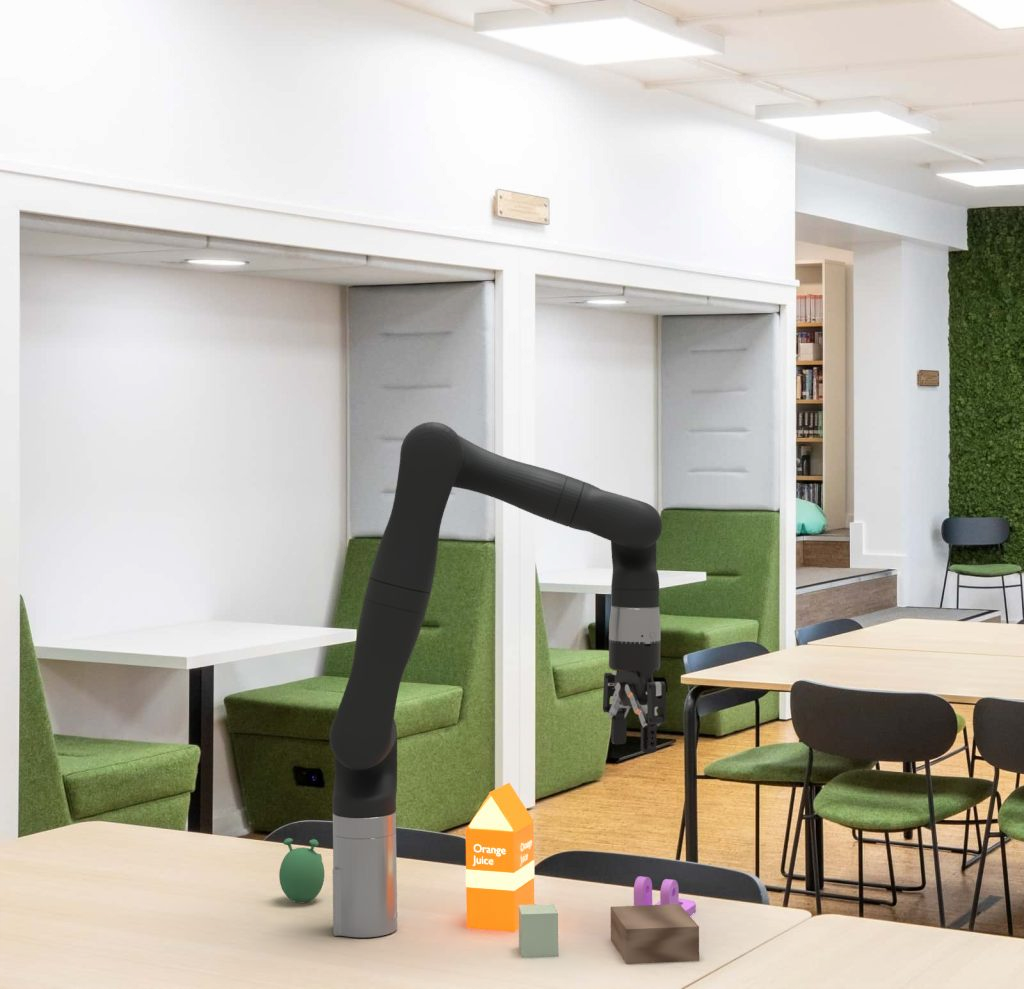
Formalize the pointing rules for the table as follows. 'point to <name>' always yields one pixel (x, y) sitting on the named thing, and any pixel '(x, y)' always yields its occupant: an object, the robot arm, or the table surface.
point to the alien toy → (301, 872)
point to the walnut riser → (654, 934)
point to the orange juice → (499, 862)
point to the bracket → (661, 894)
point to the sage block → (538, 930)
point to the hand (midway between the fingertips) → (633, 748)
